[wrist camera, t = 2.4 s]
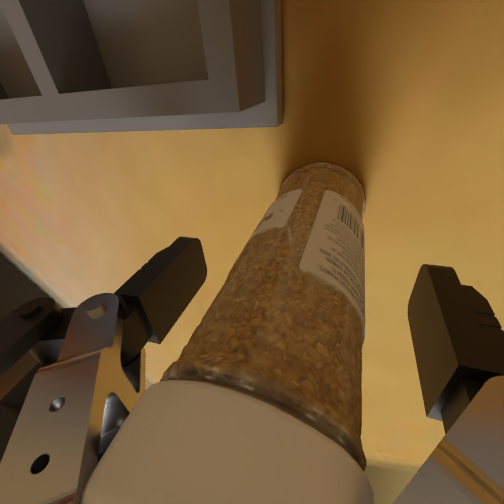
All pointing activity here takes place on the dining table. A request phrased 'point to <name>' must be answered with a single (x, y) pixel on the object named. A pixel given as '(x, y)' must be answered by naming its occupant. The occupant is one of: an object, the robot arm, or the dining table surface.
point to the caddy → (139, 65)
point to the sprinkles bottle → (263, 371)
